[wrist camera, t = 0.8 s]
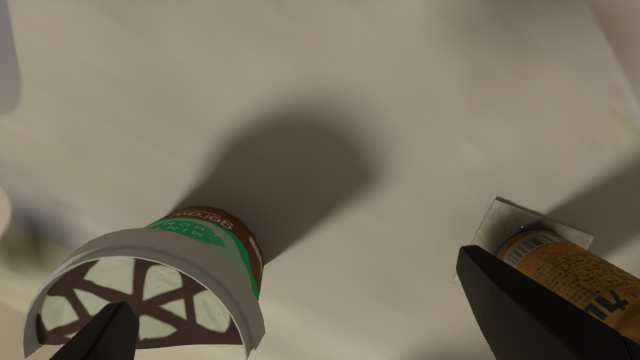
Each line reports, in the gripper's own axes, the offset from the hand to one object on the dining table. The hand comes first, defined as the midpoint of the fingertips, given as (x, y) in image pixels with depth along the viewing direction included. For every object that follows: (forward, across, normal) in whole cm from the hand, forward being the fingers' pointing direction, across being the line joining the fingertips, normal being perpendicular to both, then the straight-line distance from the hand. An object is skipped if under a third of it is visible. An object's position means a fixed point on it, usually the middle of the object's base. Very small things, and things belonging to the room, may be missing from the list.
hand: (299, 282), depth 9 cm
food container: (+15, +8, +9) cm, 19 cm away
